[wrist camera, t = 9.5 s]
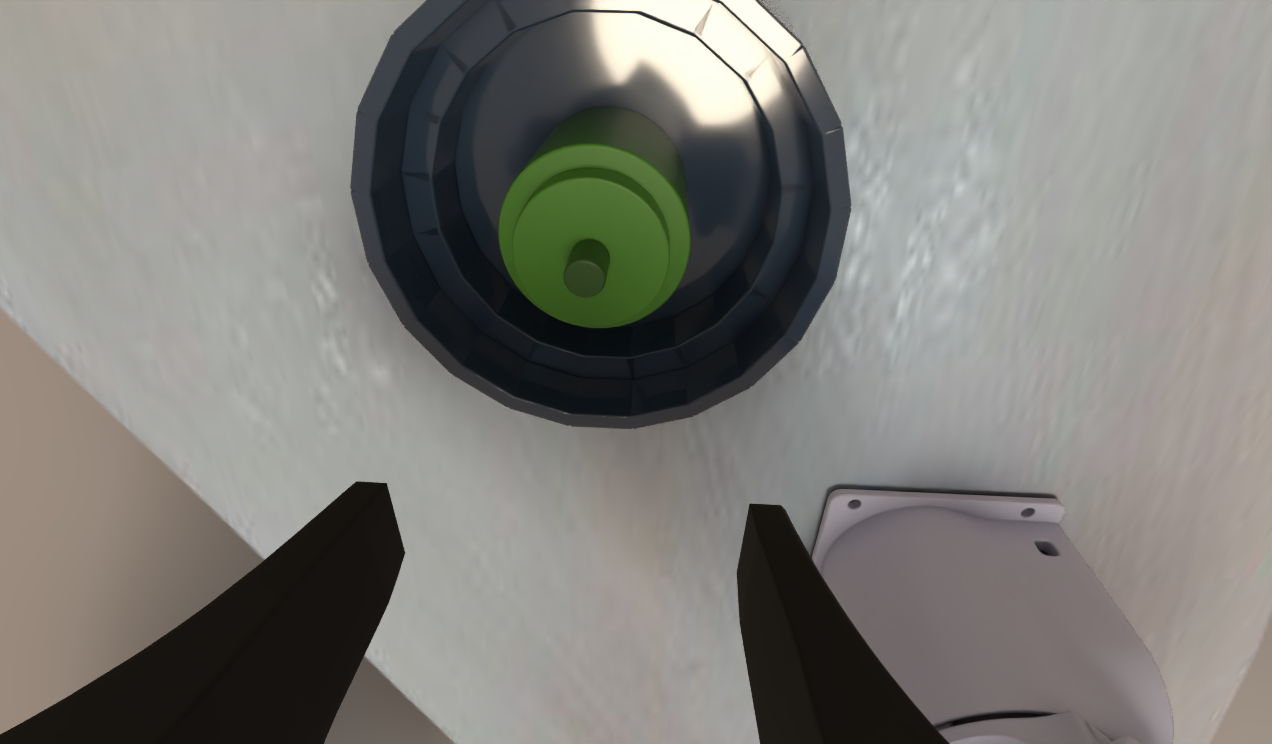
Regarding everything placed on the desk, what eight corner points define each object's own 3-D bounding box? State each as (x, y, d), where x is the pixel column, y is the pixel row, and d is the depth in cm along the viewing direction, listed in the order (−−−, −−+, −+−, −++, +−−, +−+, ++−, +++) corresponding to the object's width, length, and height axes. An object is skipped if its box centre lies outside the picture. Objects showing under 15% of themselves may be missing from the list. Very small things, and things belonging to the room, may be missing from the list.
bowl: (850, -47, 15) (910, -56, 11) (778, 358, 22) (801, 437, 18) (379, -58, 15) (286, -71, 12) (448, 344, 22) (403, 419, 18)
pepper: (691, 108, 17) (702, 171, 11) (681, 262, 19) (686, 375, 14) (527, 103, 17) (460, 163, 11) (538, 257, 19) (487, 367, 14)
